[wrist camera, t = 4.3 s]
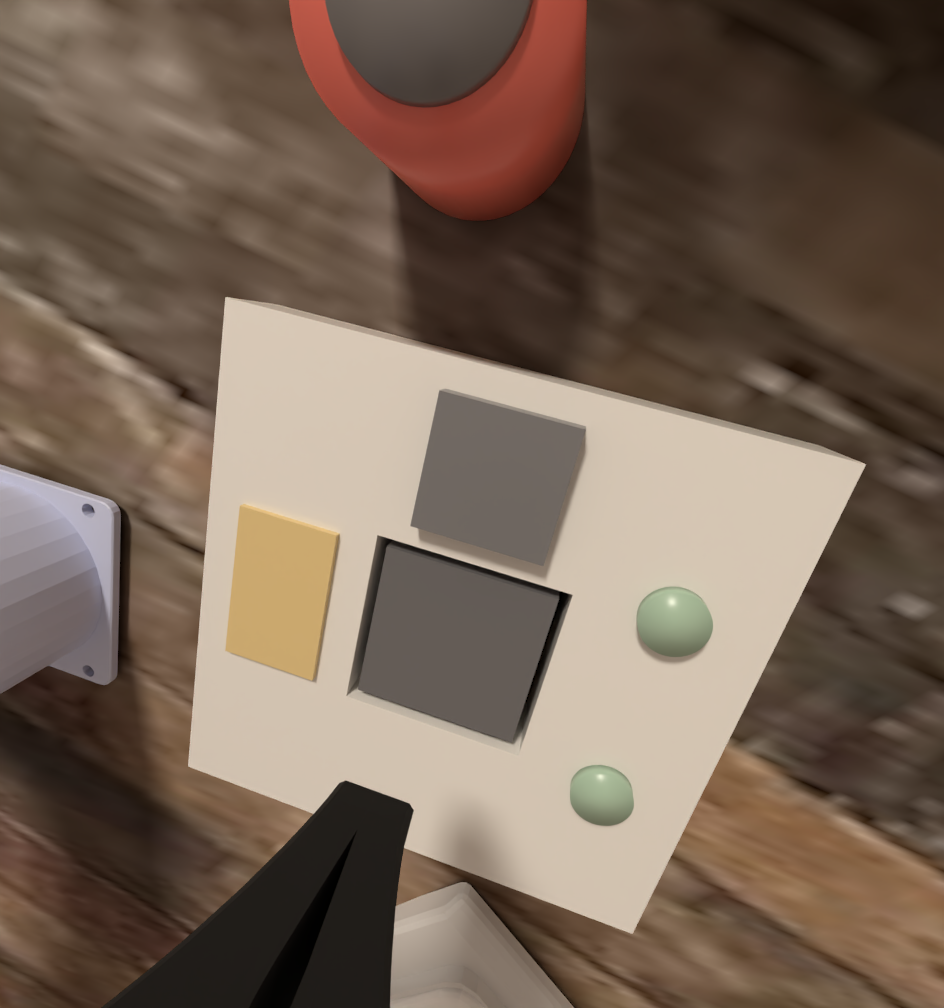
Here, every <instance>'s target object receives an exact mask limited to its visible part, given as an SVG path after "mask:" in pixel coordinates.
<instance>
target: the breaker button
mask: <svg viewBox="0 0 944 1008" xmlns="http://www.w3.org/2000/svg"><path fill="white" fill-rule="evenodd" d="M559 593H560V591H558V590H555V589H552V588H549V587H545V586H542V585H539V584H536V583H532V582H529V581H526V580H522V579H519V578H516V577H513V576H509V575H506V574H503V573H500V572H496V571H493V570H490V569H487V568H483V567H480V566H477V565H474V564H470V563H467V562H464V561H461V560H457V559H454V558H451V557H448V556H444V555H441V554H438V553H435V552H431V551H428V550H425V549H421V548H418V547H415V546H412V545H408V544H405V543H402V542H399V541H395V540H393V541H392V542H391V543H390V544H389V545H388V546H387V548H386V553H385V557H384V562H383V567H382V572H381V577H380V582H379V587H378V592H377V597H376V602H375V607H374V612H373V617H372V622H371V627H370V632H369V637H368V642H367V647H366V652H365V657H364V662H363V667H362V671H361V676H360V681H359V686H358V690H360V691H363V692H366V693H369V694H372V695H375V696H378V697H381V698H384V699H387V700H389V701H392V702H395V703H398V704H401V705H404V706H407V707H410V708H413V709H416V710H419V711H421V712H424V713H427V714H430V715H433V716H436V717H439V718H442V719H445V720H448V721H450V722H453V723H456V724H459V725H462V726H465V727H468V728H471V729H474V730H477V731H480V732H482V733H485V734H488V735H491V736H494V737H497V738H500V739H503V740H506V741H509V742H512V740H513V737H514V734H515V731H516V728H517V725H518V722H519V719H520V716H521V713H522V710H523V707H524V704H525V701H526V698H527V695H528V692H529V689H530V686H531V683H532V680H533V677H534V674H535V671H536V668H537V665H538V662H539V659H540V656H541V653H542V650H543V647H544V643H545V640H546V637H547V634H548V631H549V628H550V625H551V622H552V619H553V616H554V613H555V610H556V607H557V604H558V601H559Z"/></svg>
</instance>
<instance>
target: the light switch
mask: <svg viewBox="0 0 944 1008" xmlns="http://www.w3.org/2000/svg"><path fill="white" fill-rule="evenodd" d="M390 1008H574V1007H573V1006H572V1005H571V1003H570V1002H569V1001H568V1000H567V999H566V997H565V996H564V995H563V994H562V993H561V992H560V990H559V989H558V988H557V987H556V986H555V984H554V983H553V982H552V981H551V980H550V979H549V977H548V976H547V975H546V974H545V973H544V971H543V970H542V969H541V968H540V967H539V966H538V964H537V963H536V962H535V961H534V960H533V958H532V957H531V956H530V955H529V954H528V952H527V951H526V950H525V949H524V948H523V947H522V945H521V944H520V943H519V942H518V941H517V939H516V938H515V937H514V936H513V935H512V934H511V932H510V931H509V930H508V929H507V928H506V926H505V925H504V924H503V923H502V922H501V921H500V919H499V918H498V917H497V916H496V915H495V913H494V912H493V911H492V910H491V909H490V908H489V906H488V905H487V904H486V903H485V902H484V900H483V899H482V898H481V897H480V896H479V894H478V893H477V892H476V891H475V890H474V889H473V887H472V886H471V885H469V884H468V883H466V882H460V883H457V884H454V885H451V886H448V887H445V888H442V889H440V890H437V891H434V892H431V893H428V894H425V895H422V896H420V897H417V898H415V899H412V900H410V901H408V902H405V903H403V904H400V905H398V906H396V909H395V922H394V935H393V949H392V966H391V989H390Z"/></svg>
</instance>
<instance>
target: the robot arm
mask: <svg viewBox="0 0 944 1008" xmlns="http://www.w3.org/2000/svg"><path fill="white" fill-rule="evenodd" d="M92 507H93V508H94V511H95V512H94V511H93V509H92ZM120 532H121V513H120V509H119V507H118V506H117V505H116V504H115V502H113V501H112V500H110V499H107V498H104V497H101V496H98V495H94V494H91V493H88V492H85V491H82V490H79V489H76V488H73V487H69V486H66V485H63V484H60V483H57V482H54V481H51V480H47V479H44V478H41V477H38V476H35V475H32V474H29V473H25V472H22V471H19V470H16V469H13V468H10V467H7V466H3V465H0V694H1V693H3V692H4V691H6V690H8V689H9V688H11V687H13V686H15V685H16V684H18V683H20V682H21V681H23V680H25V679H26V678H28V677H30V676H31V675H33V674H35V673H36V672H38V671H40V670H41V669H43V668H45V667H46V666H51V667H54V668H56V669H59V670H62V671H64V672H67V673H70V674H73V675H75V676H78V677H81V678H84V679H86V680H89V681H92V682H95V683H97V684H101V685H107V684H109V683H110V682H112V681H113V680H114V679H115V678H116V677H117V670H118V624H119V578H120ZM413 812H414V810H413V808H412V807H411V805H410V803H407V802H404V801H402V800H399V799H396V798H393V797H391V796H388V795H385V794H382V793H379V792H377V791H374V790H371V789H368V788H366V787H363V786H360V785H357V784H355V783H352V782H349V781H343V782H341V783H339V784H338V785H337V786H336V788H335V789H334V790H333V792H332V793H331V794H330V795H329V797H328V798H327V799H326V800H325V801H324V802H323V804H322V805H321V806H320V807H319V808H318V810H317V811H316V812H315V813H314V814H313V815H312V816H311V817H310V819H309V820H308V821H307V822H306V823H305V824H304V825H303V826H302V827H301V828H300V829H299V830H298V832H297V833H296V834H295V835H294V836H293V837H292V838H291V839H290V840H289V841H288V842H287V843H286V844H285V845H284V846H283V847H282V848H281V849H280V850H279V851H278V852H277V853H276V854H275V855H274V856H273V857H272V858H271V859H270V860H269V861H268V862H267V863H266V864H265V865H264V866H263V867H262V868H261V869H260V870H259V871H258V872H257V873H256V874H255V875H254V876H253V877H252V878H251V879H250V880H249V881H248V882H247V883H246V884H245V885H244V886H243V887H242V888H241V889H240V890H239V891H238V892H237V893H236V894H234V895H233V896H232V897H231V898H230V899H229V900H228V901H227V902H226V903H225V904H223V905H222V906H221V907H220V908H219V909H218V910H217V911H216V912H215V913H214V914H212V915H211V916H210V917H209V918H208V919H207V920H206V921H205V922H204V923H203V924H201V925H200V926H199V927H198V928H197V929H196V930H195V931H194V932H193V933H191V934H190V935H189V936H188V937H187V938H186V939H185V940H183V941H182V942H181V943H180V944H179V945H178V946H176V947H175V948H174V949H173V950H172V951H171V952H169V953H168V954H167V955H166V956H165V957H164V958H162V959H161V960H160V961H159V962H158V963H156V964H155V965H154V966H153V967H152V968H150V969H149V970H148V971H147V972H145V973H144V974H143V975H142V976H140V977H139V978H138V979H137V980H136V981H134V982H133V983H132V984H131V985H129V986H128V987H127V988H126V989H124V990H123V991H122V992H121V993H119V994H118V995H117V996H116V997H114V998H113V999H112V1000H111V1001H109V1002H108V1003H107V1004H105V1005H104V1006H103V1007H102V1008H390V989H391V966H392V949H393V935H394V922H395V909H396V899H397V890H398V882H399V875H400V868H401V861H402V855H403V849H404V845H405V842H406V838H407V834H408V830H409V827H410V823H411V819H412V816H413Z"/></svg>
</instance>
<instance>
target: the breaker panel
mask: <svg viewBox="0 0 944 1008" xmlns="http://www.w3.org/2000/svg"><path fill="white" fill-rule="evenodd" d="M865 465H866V464H864V463H862V462H859V461H857V460H854V459H852V458H849V457H847V456H844V455H842V454H839V453H837V452H834V451H832V450H829V449H827V448H825V447H822V446H820V445H816V444H812V443H808V442H805V441H801V440H797V439H793V438H789V437H785V436H782V435H778V434H774V433H770V432H766V431H762V430H758V429H755V428H751V427H747V426H743V425H739V424H735V423H731V422H728V421H724V420H720V419H716V418H712V417H708V416H705V415H701V414H697V413H693V412H689V411H685V410H681V409H678V408H674V407H670V406H666V405H662V404H658V403H654V402H651V401H647V400H643V399H639V398H635V397H631V396H628V395H624V394H620V393H616V392H612V391H608V390H604V389H601V388H597V387H593V386H589V385H585V384H581V383H578V382H574V381H570V380H566V379H562V378H558V377H554V376H551V375H547V374H543V373H539V372H535V371H531V370H527V369H524V368H520V367H516V366H512V365H508V364H504V363H501V362H497V361H493V360H489V359H485V358H481V357H477V356H474V355H470V354H466V353H462V352H458V351H454V350H450V349H447V348H443V347H439V346H435V345H431V344H427V343H424V342H420V341H416V340H412V339H408V338H404V337H400V336H397V335H393V334H389V333H385V332H381V331H377V330H373V329H370V328H366V327H362V326H358V325H354V324H350V323H347V322H343V321H339V320H335V319H331V318H327V317H323V316H320V315H316V314H312V313H308V312H304V311H300V310H296V309H293V308H289V307H285V306H281V305H277V304H270V303H263V302H256V301H249V300H243V299H236V298H229V297H225V309H224V322H223V335H222V347H221V360H220V372H219V385H218V397H217V410H216V423H215V435H214V448H213V460H212V473H211V485H210V498H209V511H208V523H207V536H206V548H205V561H204V573H203V586H202V599H201V611H200V624H199V636H198V649H197V661H196V674H195V687H194V699H193V712H192V724H191V737H190V749H189V762H188V767H191V768H194V769H196V770H199V771H202V772H204V773H207V774H210V775H212V776H215V777H217V778H220V779H223V780H225V781H228V782H231V783H233V784H236V785H239V786H241V787H244V788H247V789H249V790H252V791H255V792H257V793H260V794H263V795H265V796H268V797H271V798H273V799H276V800H279V801H281V802H284V803H286V804H289V805H292V806H294V807H297V808H300V809H302V810H305V811H308V812H310V813H313V814H314V813H315V812H316V811H317V810H318V808H319V807H320V806H321V805H322V804H323V802H324V801H325V800H326V799H327V798H328V797H329V795H330V794H331V793H332V792H333V790H334V789H335V788H336V786H337V785H338V784H339V783H341V782H343V781H349V782H352V783H355V784H357V785H360V786H363V787H366V788H368V789H371V790H374V791H377V792H379V793H382V794H385V795H388V796H391V797H393V798H396V799H399V800H402V801H404V802H407V803H410V805H411V807H412V808H413V810H414V812H413V816H412V819H411V823H410V827H409V830H408V834H407V838H406V842H405V845H404V848H406V849H409V850H411V851H414V852H416V853H419V854H422V855H424V856H427V857H430V858H432V859H435V860H438V861H440V862H443V863H446V864H448V865H451V866H454V867H456V868H459V869H462V870H464V871H467V872H470V873H472V874H475V875H478V876H480V877H483V878H485V879H488V880H491V881H493V882H496V883H499V884H501V885H504V886H507V887H509V888H512V889H515V890H517V891H520V892H523V893H525V894H528V895H531V896H533V897H536V898H539V899H541V900H544V901H547V902H549V903H552V904H554V905H557V906H560V907H562V908H565V909H568V910H570V911H573V912H576V913H578V914H581V915H584V916H586V917H589V918H592V919H594V920H597V921H600V922H602V923H605V924H608V925H610V926H613V927H616V928H618V929H621V930H623V931H626V932H629V933H631V934H632V933H633V931H634V929H635V927H636V925H637V923H638V921H639V919H640V917H641V915H642V913H643V911H644V909H645V907H646V905H647V903H648V901H649V899H650V897H651V895H652V893H653V891H654V889H655V887H656V885H657V883H658V881H659V879H660V877H661V875H662V873H663V871H664V869H665V867H666V865H667V863H668V861H669V859H670V857H671V855H672V853H673V851H674V849H675V847H676V845H677V843H678V841H679V839H680V837H681V835H682V833H683V831H684V829H685V827H686V825H687V823H688V821H689V819H690V817H691V815H692V813H693V811H694V809H695V807H696V805H697V803H698V801H699V799H700V797H701V795H702V793H703V791H704V789H705V787H706V785H707V783H708V781H709V779H710V777H711V775H712V773H713V771H714V769H715V767H716V765H717V763H718V761H719V759H720V757H721V755H722V753H723V751H724V749H725V747H726V745H727V743H728V741H729V739H730V737H731V735H732V733H733V731H734V729H735V727H736V724H737V722H738V720H739V718H740V716H741V714H742V712H743V710H744V708H745V706H746V704H747V702H748V700H749V698H750V696H751V694H752V692H753V690H754V688H755V686H756V684H757V682H758V680H759V678H760V676H761V674H762V672H763V670H764V668H765V666H766V664H767V662H768V660H769V658H770V656H771V654H772V652H773V650H774V648H775V646H776V644H777V642H778V640H779V638H780V636H781V634H782V632H783V630H784V628H785V626H786V624H787V622H788V620H789V618H790V616H791V614H792V612H793V610H794V608H795V606H796V604H797V602H798V600H799V598H800V596H801V594H802V592H803V590H804V588H805V586H806V584H807V582H808V580H809V578H810V576H811V574H812V572H813V570H814V568H815V566H816V564H817V562H818V560H819V558H820V556H821V554H822V552H823V550H824V548H825V546H826V544H827V542H828V540H829V538H830V536H831V534H832V532H833V530H834V528H835V526H836V524H837V522H838V520H839V518H840V516H841V514H842V512H843V510H844V508H845V506H846V504H847V502H848V500H849V497H850V495H851V493H852V491H853V489H854V487H855V485H856V483H857V481H858V479H859V477H860V475H861V473H862V471H863V469H864V467H865ZM393 540H395V541H399V542H402V543H405V544H408V545H412V546H415V547H418V548H421V549H425V550H428V551H431V552H435V553H438V554H441V555H444V556H448V557H451V558H454V559H457V560H461V561H464V562H467V563H470V564H474V565H477V566H480V567H483V568H487V569H490V570H493V571H496V572H500V573H503V574H506V575H509V576H513V577H516V578H519V579H522V580H526V581H529V582H532V583H536V584H539V585H542V586H545V587H549V588H552V589H555V590H558V591H562V592H563V594H562V597H561V600H560V603H559V606H558V609H557V612H556V616H555V619H554V622H553V625H552V628H551V631H550V634H549V637H548V640H547V643H546V646H545V649H544V652H543V655H542V658H541V661H540V664H539V667H538V670H537V673H536V676H535V679H534V682H533V685H532V688H531V691H530V694H529V697H528V700H527V703H525V704H524V707H523V710H522V713H521V716H520V719H519V722H518V725H517V728H516V731H515V734H514V737H513V740H512V742H509V741H506V740H503V739H500V738H497V737H494V736H491V735H488V734H485V733H482V732H480V731H477V730H474V729H471V728H468V727H465V726H462V725H459V724H456V723H453V722H450V721H448V720H445V719H442V718H439V717H436V716H433V715H430V714H427V713H424V712H421V711H419V710H416V709H413V708H410V707H407V706H404V705H401V704H398V703H395V702H392V701H389V700H387V699H384V698H381V697H378V696H375V695H372V694H369V693H366V692H363V691H360V690H358V686H359V681H360V676H361V671H362V667H363V662H364V657H365V652H366V647H367V642H368V637H369V632H370V627H371V622H372V617H373V612H374V607H375V602H376V597H377V592H378V587H379V582H380V577H381V572H382V567H383V562H384V557H385V553H386V548H387V546H388V545H389V544H390V543H391V542H392V541H393Z"/></svg>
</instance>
